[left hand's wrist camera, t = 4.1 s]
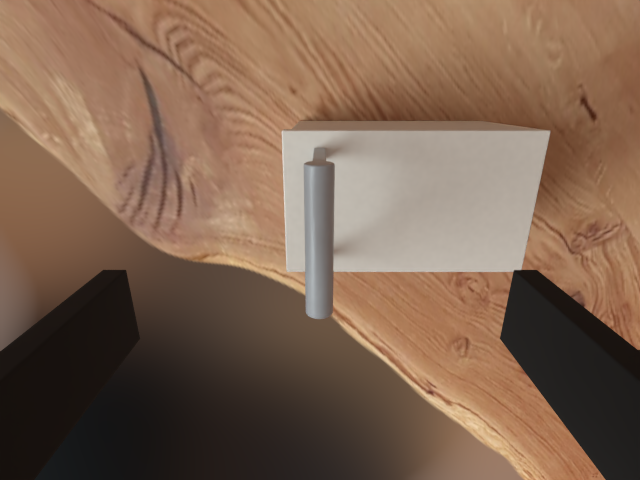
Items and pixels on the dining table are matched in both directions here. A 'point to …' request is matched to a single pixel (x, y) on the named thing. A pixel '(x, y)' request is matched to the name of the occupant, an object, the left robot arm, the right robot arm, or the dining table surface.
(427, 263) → the lid
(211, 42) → the dining table surface
